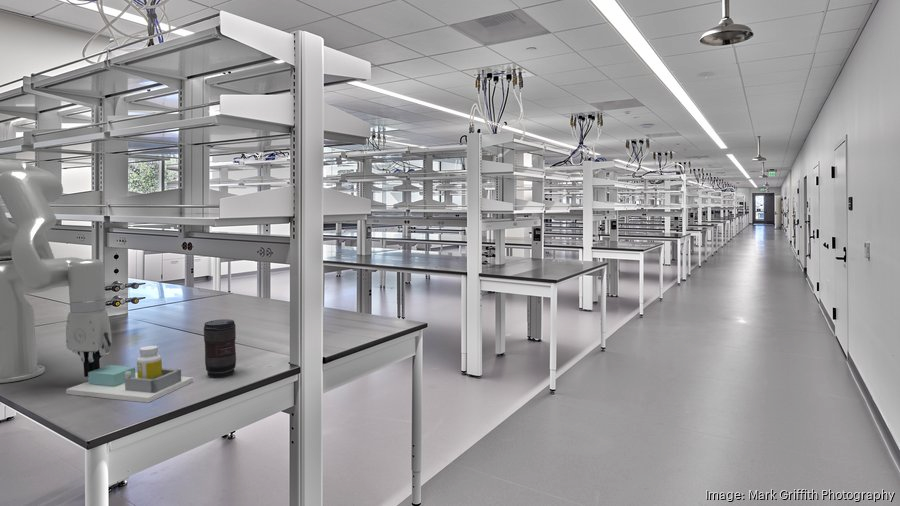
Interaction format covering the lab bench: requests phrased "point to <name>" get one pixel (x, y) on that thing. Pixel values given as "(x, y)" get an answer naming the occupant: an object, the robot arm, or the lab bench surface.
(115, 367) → the block
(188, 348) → the lab bench surface
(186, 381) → the board
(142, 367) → the supplement bottle
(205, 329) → the camera lens
